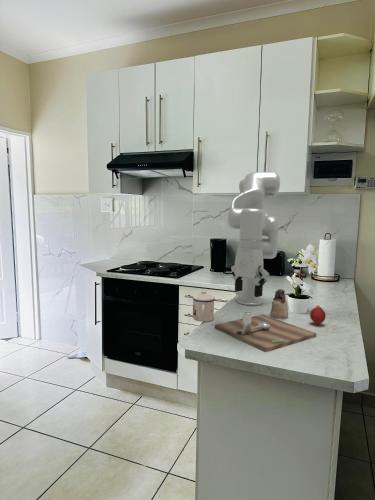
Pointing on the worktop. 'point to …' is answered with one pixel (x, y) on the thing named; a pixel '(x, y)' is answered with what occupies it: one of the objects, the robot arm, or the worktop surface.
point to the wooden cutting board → (267, 333)
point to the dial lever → (247, 324)
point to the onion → (317, 315)
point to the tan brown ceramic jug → (279, 305)
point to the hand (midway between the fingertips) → (248, 293)
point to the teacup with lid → (203, 307)
